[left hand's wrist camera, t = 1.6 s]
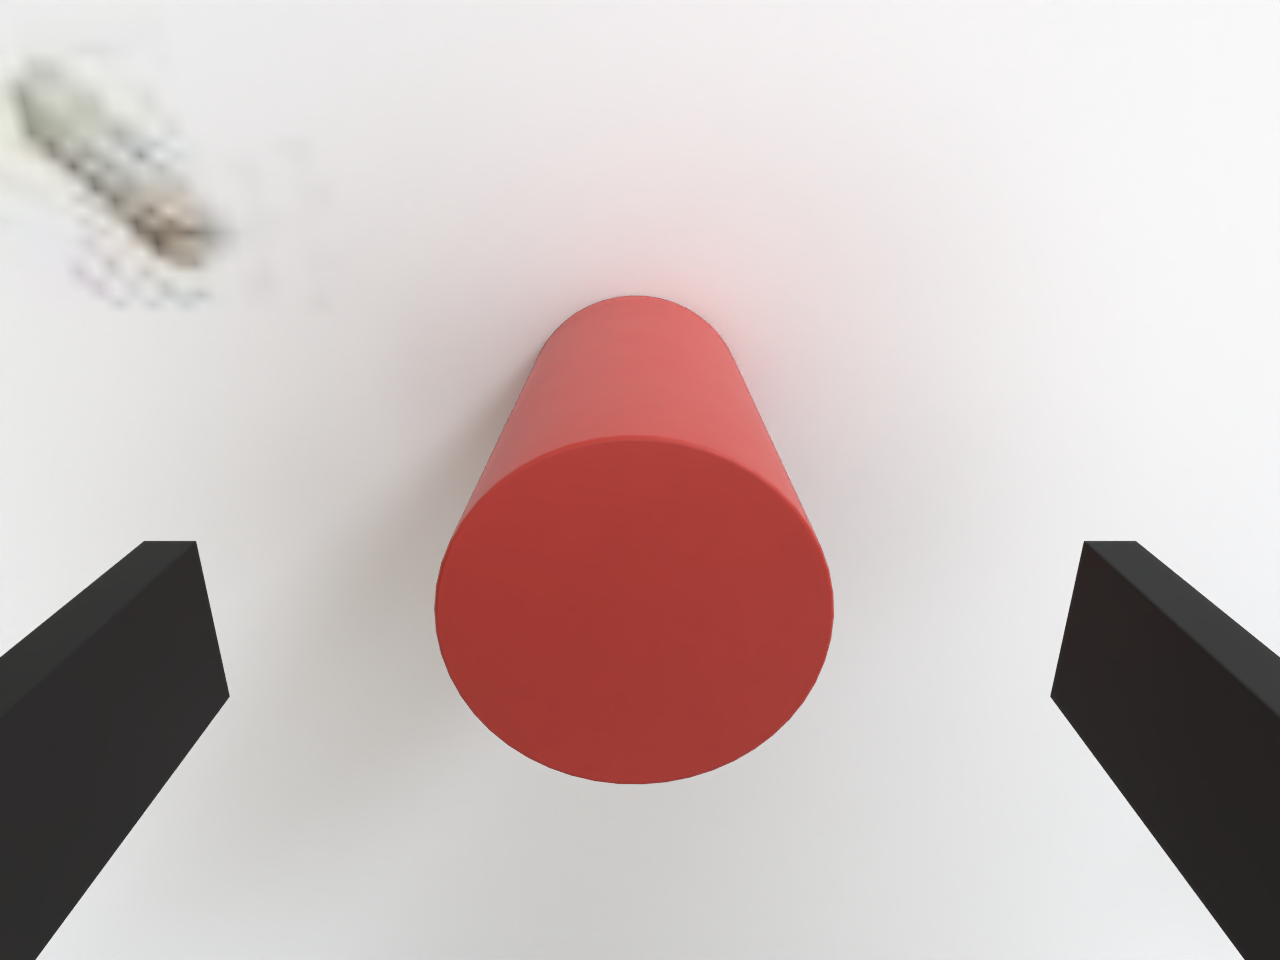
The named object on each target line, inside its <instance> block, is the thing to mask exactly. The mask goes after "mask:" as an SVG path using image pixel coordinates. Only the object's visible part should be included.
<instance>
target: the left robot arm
mask: <svg viewBox="0 0 1280 960" xmlns="http://www.w3.org/2000/svg"><path fill="white" fill-rule="evenodd" d="M229 697H230V696H229V691H228V687H227V682H226V677H225V673H224V668H223V664H222V659H221V654H220V650H219V645H218V641H217V636H216V631H215V627H214V622H213V617H212V613H211V608H210V604H209V599H208V594H207V590H206V585H205V581H204V576H203V571H202V567H201V562H200V557H199V553H198V548H197V544H196V541H144V542H142V543H141V544H140V545H139V546H138V547H136V548H135V549H134V550H133V551H131V552H130V553H129V554H128V555H126V556H125V557H124V558H123V559H121V560H120V561H119V562H118V563H116V564H115V565H114V566H113V567H112V568H110V569H109V570H108V571H107V572H105V573H104V574H103V575H102V576H100V577H99V578H98V579H97V580H95V581H94V582H93V583H92V584H90V585H89V586H88V587H87V588H86V589H84V590H83V591H82V592H81V593H79V594H78V595H77V596H76V597H74V598H73V599H72V600H71V601H69V602H68V603H67V604H66V605H64V606H63V607H62V608H61V609H60V610H58V611H57V612H56V613H55V614H53V615H52V616H51V617H50V618H48V619H47V620H46V621H45V622H43V623H42V624H41V625H40V626H38V627H37V628H36V629H35V630H34V631H32V632H31V633H30V634H29V635H27V636H26V637H25V638H24V639H22V640H21V641H20V642H19V643H17V644H16V645H15V646H14V647H12V648H11V649H10V650H9V651H8V652H6V653H5V654H4V655H3V656H1V657H0V960H36V958H37V957H38V955H39V954H40V953H41V951H42V950H43V949H44V947H45V946H46V945H47V943H48V942H49V941H50V939H51V938H52V936H53V935H54V934H55V932H56V931H57V930H58V928H59V927H60V926H61V924H62V923H63V922H64V920H65V919H66V918H67V916H68V915H69V913H70V912H71V911H72V909H73V908H74V907H75V905H76V904H77V903H78V901H79V900H80V899H81V897H82V896H83V894H84V893H85V892H86V890H87V889H88V888H89V886H90V885H91V884H92V882H93V881H94V880H95V878H96V877H97V876H98V874H99V873H100V871H101V870H102V869H103V867H104V866H105V865H106V863H107V862H108V861H109V859H110V858H111V857H112V855H113V854H114V852H115V851H116V850H117V848H118V847H119V846H120V844H121V843H122V842H123V840H124V839H125V838H126V836H127V835H128V834H129V832H130V831H131V829H132V828H133V827H134V825H135V824H136V823H137V821H138V820H139V819H140V817H141V816H142V815H143V813H144V812H145V811H146V809H147V808H148V806H149V805H150V804H151V802H152V801H153V800H154V798H155V797H156V796H157V794H158V793H159V792H160V790H161V789H162V787H163V786H164V785H165V783H166V782H167V781H168V779H169V778H170V777H171V775H172V774H173V773H174V771H175V770H176V769H177V767H178V766H179V764H180V763H181V762H182V760H183V759H184V758H185V756H186V755H187V754H188V752H189V751H190V750H191V748H192V747H193V745H194V744H195V743H196V741H197V740H198V739H199V737H200V736H201V735H202V733H203V732H204V731H205V729H206V728H207V727H208V725H209V724H210V722H211V721H212V720H213V718H214V717H215V716H216V714H217V713H218V712H219V710H220V709H221V708H222V706H223V705H224V703H225V702H226V701H227V699H228V698H229ZM1050 697H1051V698H1052V699H1053V701H1054V702H1055V703H1056V705H1057V706H1058V708H1059V709H1060V710H1061V712H1062V713H1063V714H1064V716H1065V717H1066V718H1067V720H1068V721H1069V722H1070V724H1071V725H1072V727H1073V728H1074V729H1075V731H1076V732H1077V733H1078V735H1079V736H1080V737H1081V739H1082V740H1083V741H1084V743H1085V744H1086V745H1087V747H1088V748H1089V750H1090V751H1091V752H1092V754H1093V755H1094V756H1095V758H1096V759H1097V760H1098V762H1099V763H1100V764H1101V766H1102V767H1103V769H1104V770H1105V771H1106V773H1107V774H1108V775H1109V777H1110V778H1111V779H1112V781H1113V782H1114V783H1115V785H1116V786H1117V787H1118V789H1119V790H1120V792H1121V793H1122V794H1123V796H1124V797H1125V798H1126V800H1127V801H1128V802H1129V804H1130V805H1131V806H1132V808H1133V809H1134V811H1135V812H1136V813H1137V815H1138V816H1139V817H1140V819H1141V820H1142V821H1143V823H1144V824H1145V825H1146V827H1147V828H1148V829H1149V831H1150V832H1151V834H1152V835H1153V836H1154V838H1155V839H1156V840H1157V842H1158V843H1159V844H1160V846H1161V847H1162V848H1163V850H1164V851H1165V852H1166V854H1167V855H1168V857H1169V858H1170V859H1171V861H1172V862H1173V863H1174V865H1175V866H1176V867H1177V869H1178V870H1179V871H1180V873H1181V874H1182V876H1183V877H1184V878H1185V880H1186V881H1187V882H1188V884H1189V885H1190V886H1191V888H1192V889H1193V890H1194V892H1195V893H1196V894H1197V896H1198V897H1199V899H1200V900H1201V901H1202V903H1203V904H1204V905H1205V907H1206V908H1207V909H1208V911H1209V912H1210V913H1211V915H1212V916H1213V918H1214V919H1215V920H1216V922H1217V923H1218V924H1219V926H1220V927H1221V928H1222V930H1223V931H1224V932H1225V934H1226V935H1227V936H1228V938H1229V939H1230V941H1231V942H1232V943H1233V945H1234V946H1235V947H1236V949H1237V950H1238V951H1239V953H1240V954H1241V955H1242V957H1243V958H1244V960H1280V657H1279V656H1277V655H1276V654H1275V653H1274V652H1272V651H1271V650H1270V649H1269V648H1268V647H1266V646H1265V645H1264V644H1263V643H1261V642H1260V641H1259V640H1258V639H1256V638H1255V637H1254V636H1253V635H1251V634H1250V633H1249V632H1248V631H1246V630H1245V629H1244V628H1243V627H1242V626H1240V625H1239V624H1238V623H1237V622H1235V621H1234V620H1233V619H1232V618H1230V617H1229V616H1228V615H1227V614H1225V613H1224V612H1223V611H1222V610H1220V609H1219V608H1218V607H1217V606H1216V605H1214V604H1213V603H1212V602H1211V601H1209V600H1208V599H1207V598H1206V597H1204V596H1203V595H1202V594H1201V593H1199V592H1198V591H1197V590H1196V589H1194V588H1193V587H1192V586H1191V585H1190V584H1188V583H1187V582H1186V581H1185V580H1183V579H1182V578H1181V577H1180V576H1178V575H1177V574H1176V573H1175V572H1173V571H1172V570H1171V569H1170V568H1168V567H1167V566H1166V565H1165V564H1164V563H1162V562H1161V561H1160V560H1159V559H1157V558H1156V557H1155V556H1154V555H1152V554H1151V553H1150V552H1149V551H1147V550H1146V549H1145V548H1144V547H1142V546H1141V545H1140V544H1139V543H1138V542H1136V541H1084V544H1083V548H1082V553H1081V557H1080V562H1079V567H1078V571H1077V576H1076V581H1075V585H1074V590H1073V594H1072V599H1071V604H1070V608H1069V613H1068V617H1067V622H1066V627H1065V631H1064V636H1063V640H1062V645H1061V650H1060V654H1059V659H1058V664H1057V668H1056V673H1055V677H1054V682H1053V687H1052V691H1051V696H1050Z"/></svg>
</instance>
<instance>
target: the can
mask: <svg viewBox="0 0 1280 960" xmlns="http://www.w3.org/2000/svg"><path fill="white" fill-rule="evenodd" d="M434 610H435V624H436V633H437V638H438V642H439V646H440V651H441V655H442V657H443V660H444V662H445V665H446V668H447V670H448V673H449V675H450V677H451V679H452V681H453V683H454V685H455V686H456V688H457V690H458V692H459V694H460V695H461V697H462V698H463V700H464V701H465V702H466V704H467V705H468V706H469V708H470V709H471V710H472V712H473V713H474V714H475V715H476V716H477V717H478V718H479V719H480V721H481V722H482V723H483V724H484V725H485V726H486V727H487V728H488V729H489V730H490V731H491V732H493V733H494V734H495V735H496V736H498V737H499V738H500V739H501V740H503V741H504V742H505V743H506V744H507V745H509V746H510V747H512V748H514V749H515V750H517V751H518V752H520V753H522V754H523V755H525V756H526V757H528V758H530V759H532V760H534V761H536V762H538V763H541V764H543V765H545V766H547V767H549V768H552V769H554V770H557V771H560V772H563V773H566V774H569V775H572V776H576V777H580V778H585V779H589V780H593V781H600V782H608V783H616V784H650V783H661V782H669V781H674V780H679V779H684V778H689V777H693V776H696V775H699V774H702V773H706V772H709V771H712V770H714V769H717V768H719V767H721V766H724V765H726V764H728V763H730V762H733V761H735V760H736V759H738V758H740V757H742V756H743V755H745V754H747V753H749V752H750V751H752V750H754V749H755V748H757V747H758V746H759V745H761V744H762V743H763V742H765V741H766V740H767V739H769V738H770V737H771V736H773V735H774V734H775V733H776V732H777V731H778V730H779V729H780V728H781V727H782V726H783V725H784V724H785V723H786V722H787V721H788V720H789V719H790V718H791V717H792V716H793V714H794V713H795V712H796V711H797V709H798V708H799V707H800V706H801V705H802V703H803V702H804V700H805V699H806V697H807V696H808V694H809V692H810V691H811V689H812V687H813V686H814V684H815V682H816V680H817V678H818V676H819V673H820V671H821V669H822V666H823V664H824V662H825V659H826V655H827V651H828V648H829V644H830V641H831V635H832V627H833V619H834V605H833V589H832V584H831V578H830V573H829V569H828V566H827V563H826V560H825V557H824V554H823V551H822V548H821V546H820V544H819V542H818V539H817V537H816V535H815V533H814V531H813V529H812V526H811V524H810V522H809V520H808V518H807V516H806V514H805V511H804V509H803V507H802V505H801V503H800V501H799V498H798V496H797V494H796V492H795V490H794V488H793V486H792V483H791V481H790V479H789V477H788V475H787V473H786V470H785V468H784V466H783V464H782V462H781V460H780V458H779V455H778V453H777V451H776V449H775V447H774V445H773V442H772V440H771V438H770V436H769V434H768V432H767V429H766V427H765V425H764V423H763V421H762V419H761V417H760V414H759V412H758V410H757V408H756V406H755V404H754V401H753V399H752V397H751V395H750V393H749V391H748V389H747V386H746V384H745V382H744V380H743V378H742V376H741V373H740V371H739V369H738V367H737V365H736V363H735V360H734V358H733V356H732V355H731V353H730V351H729V349H728V347H727V345H726V344H725V343H724V341H723V340H722V338H721V337H720V335H719V334H718V333H717V332H716V331H715V330H714V329H713V328H712V327H711V326H710V325H709V324H708V323H707V322H706V321H704V320H703V319H702V318H701V317H700V316H698V315H696V314H695V313H693V312H692V311H690V310H688V309H687V308H685V307H682V306H680V305H678V304H676V303H673V302H670V301H667V300H663V299H660V298H654V297H647V296H625V297H616V298H612V299H608V300H604V301H601V302H598V303H595V304H593V305H590V306H588V307H586V308H584V309H583V310H581V311H579V312H577V313H576V314H574V315H573V316H572V317H570V318H569V319H568V320H566V321H565V322H564V323H563V324H562V325H561V326H560V327H559V328H558V329H557V330H556V331H555V332H554V333H553V334H552V336H551V337H550V338H549V339H548V341H547V342H546V343H545V345H544V347H543V349H542V350H541V352H540V354H539V356H538V358H537V360H536V362H535V364H534V366H533V368H532V370H531V373H530V375H529V377H528V379H527V381H526V383H525V385H524V387H523V389H522V391H521V394H520V396H519V398H518V400H517V402H516V404H515V406H514V408H513V410H512V412H511V414H510V417H509V419H508V421H507V423H506V425H505V427H504V429H503V431H502V433H501V435H500V437H499V440H498V442H497V444H496V446H495V448H494V450H493V452H492V454H491V456H490V458H489V460H488V463H487V465H486V467H485V469H484V471H483V473H482V475H481V477H480V479H479V481H478V483H477V486H476V488H475V490H474V492H473V494H472V496H471V498H470V500H469V502H468V504H467V506H466V509H465V511H464V513H463V515H462V517H461V519H460V521H459V523H458V525H457V527H456V530H455V532H454V534H453V536H452V538H451V540H450V542H449V545H448V547H447V550H446V552H445V555H444V557H443V560H442V562H441V567H440V571H439V575H438V580H437V584H436V594H435V607H434Z"/></svg>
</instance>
